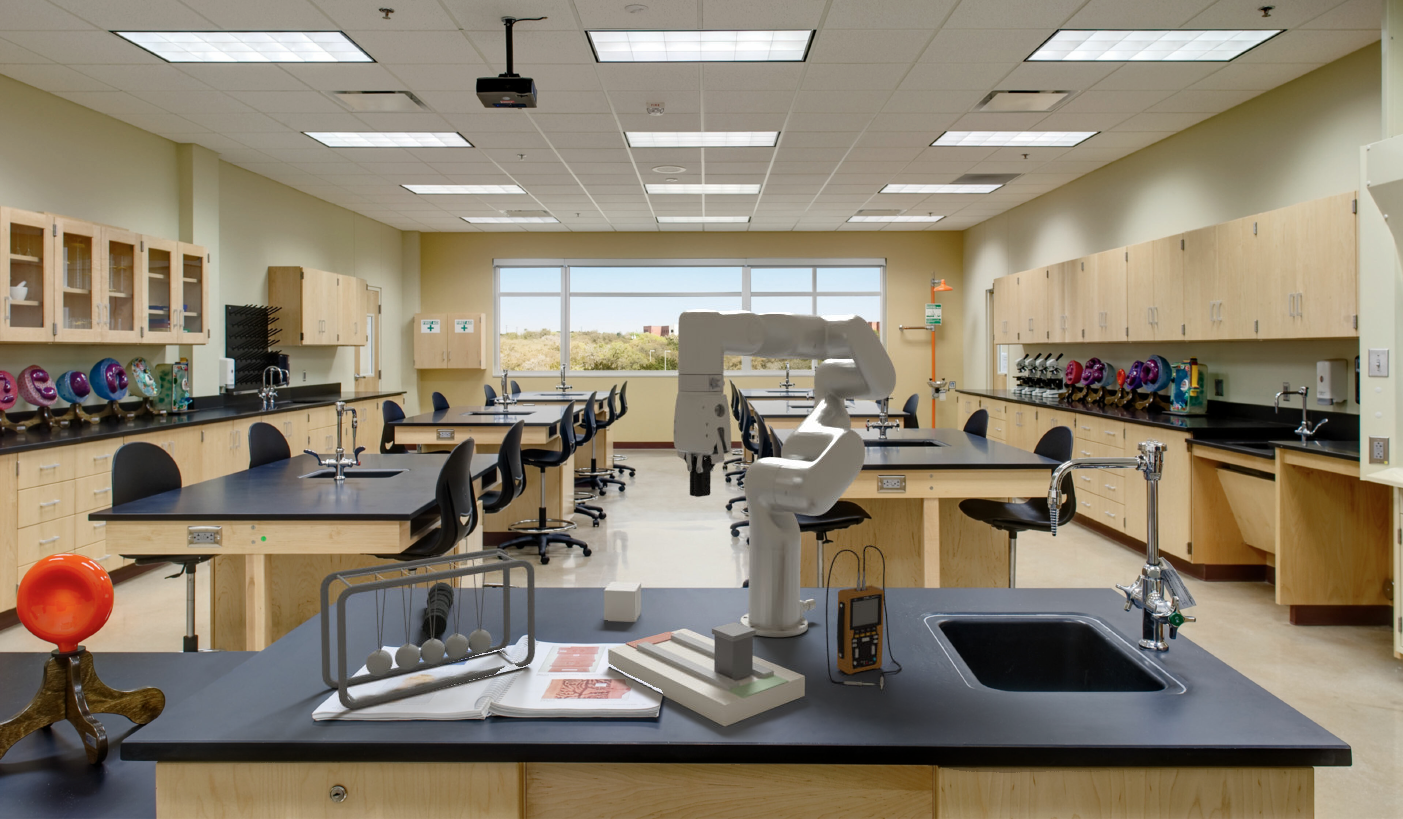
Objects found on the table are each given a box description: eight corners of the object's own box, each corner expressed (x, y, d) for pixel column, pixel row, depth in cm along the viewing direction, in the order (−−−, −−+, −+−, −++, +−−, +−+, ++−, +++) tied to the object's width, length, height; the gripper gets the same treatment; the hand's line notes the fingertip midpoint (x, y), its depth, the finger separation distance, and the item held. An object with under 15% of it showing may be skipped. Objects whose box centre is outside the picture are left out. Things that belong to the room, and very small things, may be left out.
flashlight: (454, 605, 167) (454, 580, 167) (449, 639, 147) (448, 611, 147) (428, 606, 166) (428, 582, 166) (419, 641, 146) (419, 613, 146)
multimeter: (856, 697, 123) (859, 564, 121) (817, 674, 132) (819, 549, 130) (932, 679, 129) (935, 553, 128) (889, 659, 138) (892, 540, 137)
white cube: (604, 621, 157) (604, 590, 157) (611, 611, 163) (610, 581, 163) (635, 622, 157) (635, 591, 156) (641, 612, 163) (641, 582, 162)
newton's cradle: (340, 714, 116) (337, 589, 115) (321, 690, 124) (319, 573, 123) (536, 666, 134) (535, 558, 133) (508, 648, 142) (507, 546, 141)
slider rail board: (684, 645, 144) (684, 623, 144) (804, 695, 123) (804, 670, 123) (608, 667, 134) (608, 644, 134) (724, 726, 113) (724, 699, 112)
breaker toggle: (734, 665, 126) (734, 622, 126) (755, 674, 123) (755, 629, 122) (711, 673, 123) (711, 628, 123) (732, 682, 120) (732, 636, 119)
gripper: (748, 386, 134) (747, 499, 135) (689, 383, 145) (688, 487, 146) (713, 387, 129) (712, 504, 130) (655, 384, 140) (654, 492, 141)
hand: (700, 495), depth 138 cm, fingers closed
